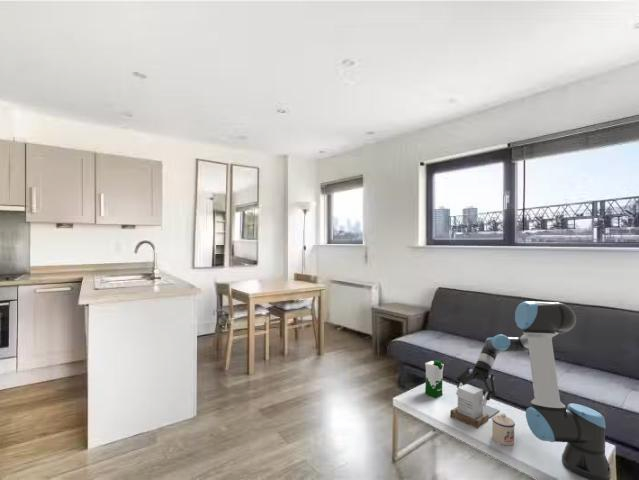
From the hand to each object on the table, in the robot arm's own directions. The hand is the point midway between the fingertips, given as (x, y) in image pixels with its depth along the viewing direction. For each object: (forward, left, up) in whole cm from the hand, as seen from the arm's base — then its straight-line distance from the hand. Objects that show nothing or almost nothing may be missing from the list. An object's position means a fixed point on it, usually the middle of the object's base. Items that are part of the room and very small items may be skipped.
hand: (469, 399), depth 169 cm
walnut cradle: (-1, 0, -9) cm, 9 cm away
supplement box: (-1, 0, -9) cm, 9 cm away
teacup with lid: (-19, -8, -9) cm, 22 cm away
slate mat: (+8, -10, -9) cm, 16 cm away
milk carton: (+25, +10, -9) cm, 28 cm away
